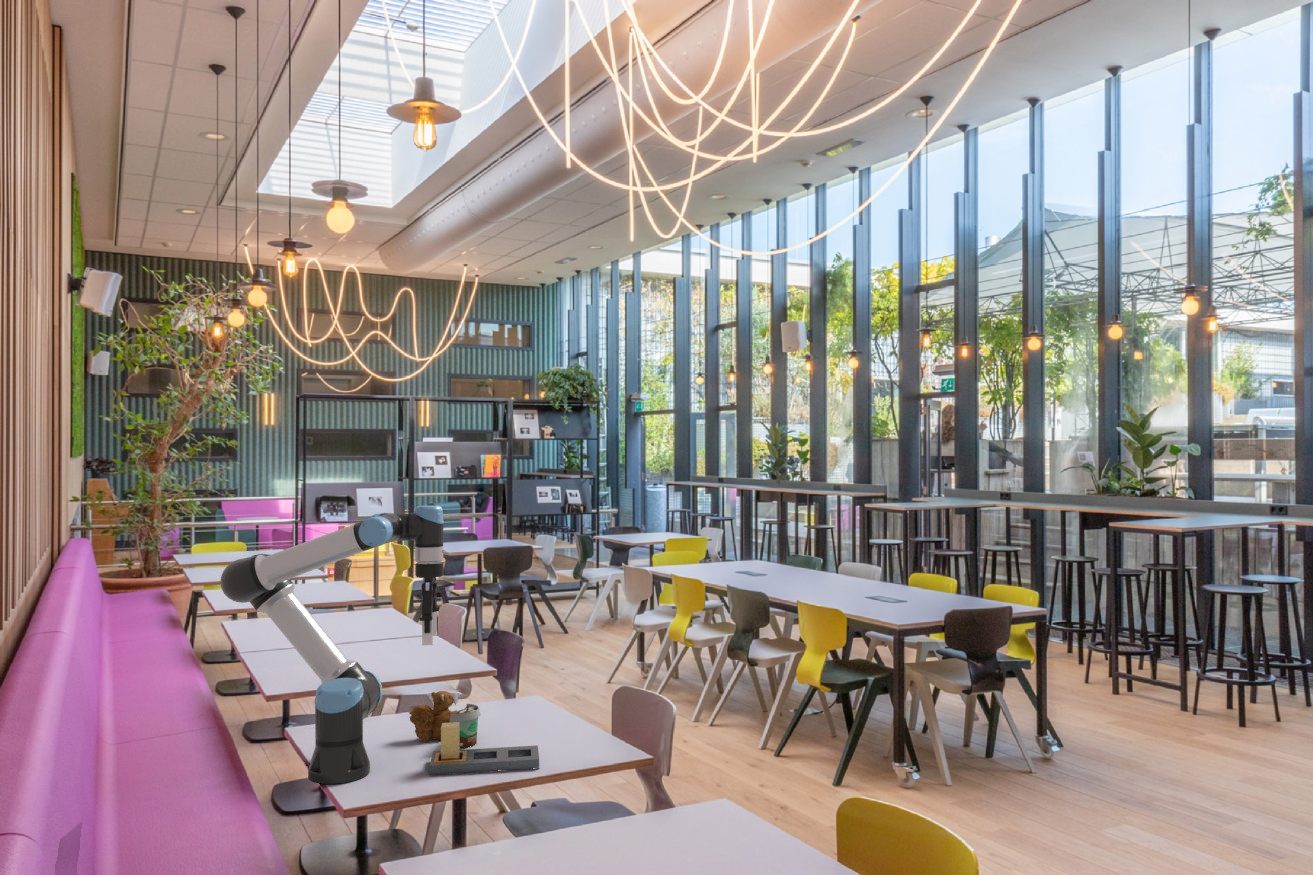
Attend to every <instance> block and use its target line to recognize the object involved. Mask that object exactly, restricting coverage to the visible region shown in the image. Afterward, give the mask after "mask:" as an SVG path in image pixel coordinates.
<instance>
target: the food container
mask: <svg viewBox="0 0 1313 875" xmlns="http://www.w3.org/2000/svg"><path fill="white" fill-rule="evenodd" d="M465 706H466V707H464V708H463V709H460V710H457V711H458V712H457V713H456V714H451V716H450V722H451V723H452V722H460V748H463V749H467V748H468V747H469V748H471V747H470V746H472V747H474V746H476V745H477V743H478V742H477V741H478V740H477V739H478V726H479V725H478V724H479V718H480V716H481V715H482V714H481V710H480V708H479V705H477V704H473V703H466V705H465ZM475 744H476V745H475ZM469 748H468V749H469Z"/></svg>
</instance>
